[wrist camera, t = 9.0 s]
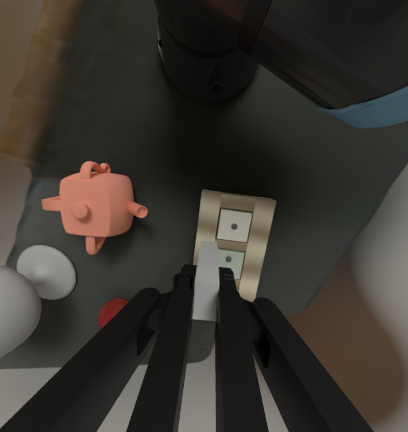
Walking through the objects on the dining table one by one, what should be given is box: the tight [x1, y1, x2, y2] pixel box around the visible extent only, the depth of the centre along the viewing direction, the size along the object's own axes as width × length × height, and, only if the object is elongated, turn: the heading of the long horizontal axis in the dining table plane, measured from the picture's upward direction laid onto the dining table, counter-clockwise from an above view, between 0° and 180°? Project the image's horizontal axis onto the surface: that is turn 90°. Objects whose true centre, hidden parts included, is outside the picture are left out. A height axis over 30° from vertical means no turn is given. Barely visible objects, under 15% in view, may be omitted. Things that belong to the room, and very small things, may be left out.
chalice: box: [0, 245, 76, 358], centre depth 31 cm, size 14×14×15 cm
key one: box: [217, 207, 252, 242], centre depth 33 cm, size 5×5×3 cm
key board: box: [193, 190, 276, 302], centre depth 35 cm, size 24×12×3 cm, turn 173°
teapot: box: [42, 161, 148, 255], centre depth 30 cm, size 12×12×10 cm
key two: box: [218, 248, 244, 279], centre depth 34 cm, size 5×5×3 cm
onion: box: [98, 298, 128, 329], centre depth 35 cm, size 6×6×8 cm
